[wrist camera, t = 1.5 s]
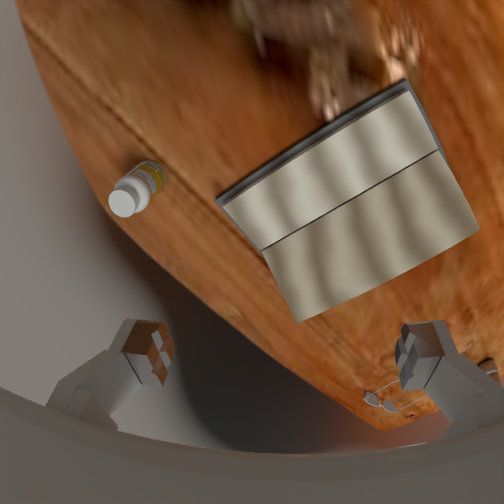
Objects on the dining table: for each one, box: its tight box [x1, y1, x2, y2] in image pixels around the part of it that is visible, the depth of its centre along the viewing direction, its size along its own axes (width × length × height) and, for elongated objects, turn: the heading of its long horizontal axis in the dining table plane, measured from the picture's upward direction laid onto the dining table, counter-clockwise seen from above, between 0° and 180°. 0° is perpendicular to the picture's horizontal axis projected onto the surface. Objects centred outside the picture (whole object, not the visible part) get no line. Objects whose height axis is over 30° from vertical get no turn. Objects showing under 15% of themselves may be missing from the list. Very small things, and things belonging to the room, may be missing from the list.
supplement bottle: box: [109, 161, 166, 217], centre depth 41 cm, size 5×5×10 cm
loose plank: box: [262, 150, 480, 324], centre depth 41 cm, size 30×12×2 cm
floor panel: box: [215, 79, 451, 258], centre depth 43 cm, size 32×25×2 cm
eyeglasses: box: [363, 379, 428, 413], centre depth 66 cm, size 15×18×4 cm
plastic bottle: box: [478, 360, 502, 386], centre depth 54 cm, size 6×7×20 cm
